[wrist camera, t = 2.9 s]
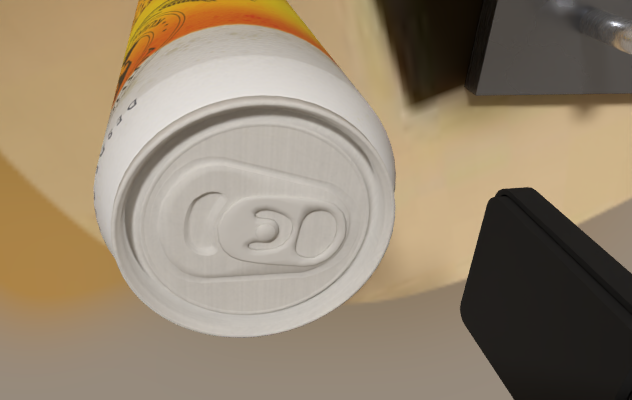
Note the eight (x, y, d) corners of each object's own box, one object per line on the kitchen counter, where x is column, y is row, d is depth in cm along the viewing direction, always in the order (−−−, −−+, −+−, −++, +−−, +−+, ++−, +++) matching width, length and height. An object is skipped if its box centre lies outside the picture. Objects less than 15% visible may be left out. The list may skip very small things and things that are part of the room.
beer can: (142, -69, 20) (93, 45, 8) (299, -32, 22) (460, 107, 10) (130, 86, 23) (79, 350, 11) (270, 107, 25) (365, 353, 12)
